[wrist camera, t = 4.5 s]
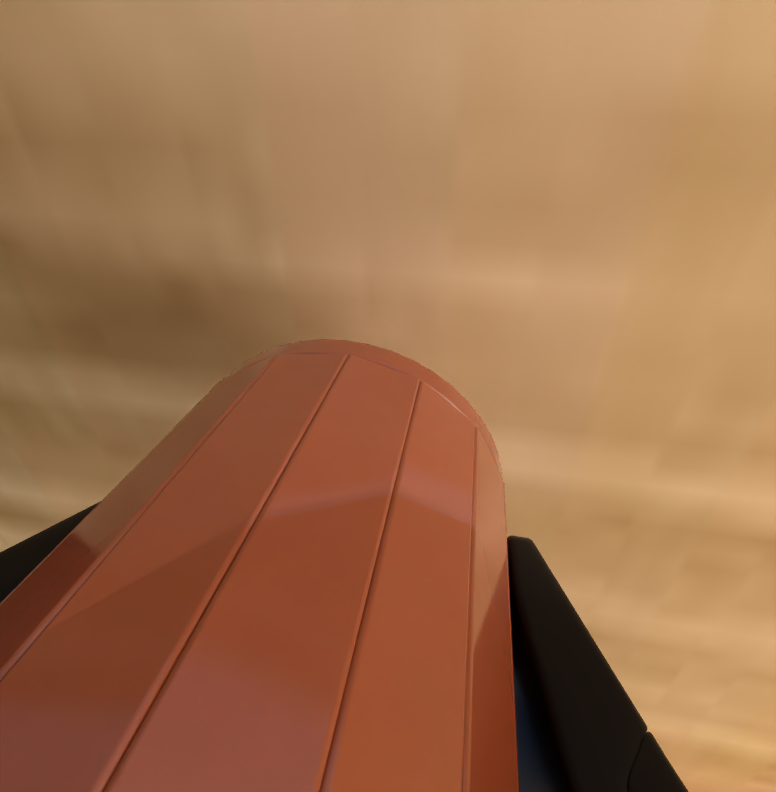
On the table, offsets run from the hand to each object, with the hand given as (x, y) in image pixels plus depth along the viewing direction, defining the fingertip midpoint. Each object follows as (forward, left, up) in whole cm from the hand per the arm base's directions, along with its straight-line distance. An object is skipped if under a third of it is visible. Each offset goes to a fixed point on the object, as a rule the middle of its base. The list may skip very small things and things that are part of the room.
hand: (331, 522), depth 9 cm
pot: (0, 0, -1) cm, 1 cm away
